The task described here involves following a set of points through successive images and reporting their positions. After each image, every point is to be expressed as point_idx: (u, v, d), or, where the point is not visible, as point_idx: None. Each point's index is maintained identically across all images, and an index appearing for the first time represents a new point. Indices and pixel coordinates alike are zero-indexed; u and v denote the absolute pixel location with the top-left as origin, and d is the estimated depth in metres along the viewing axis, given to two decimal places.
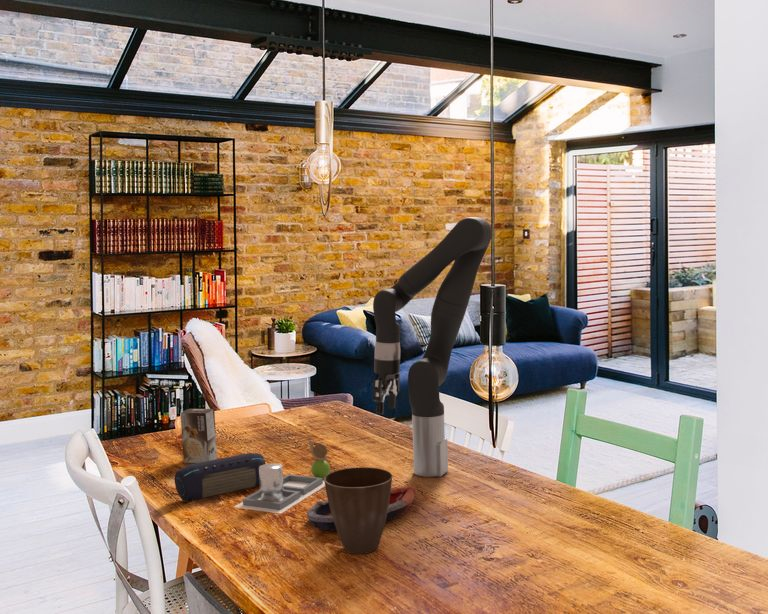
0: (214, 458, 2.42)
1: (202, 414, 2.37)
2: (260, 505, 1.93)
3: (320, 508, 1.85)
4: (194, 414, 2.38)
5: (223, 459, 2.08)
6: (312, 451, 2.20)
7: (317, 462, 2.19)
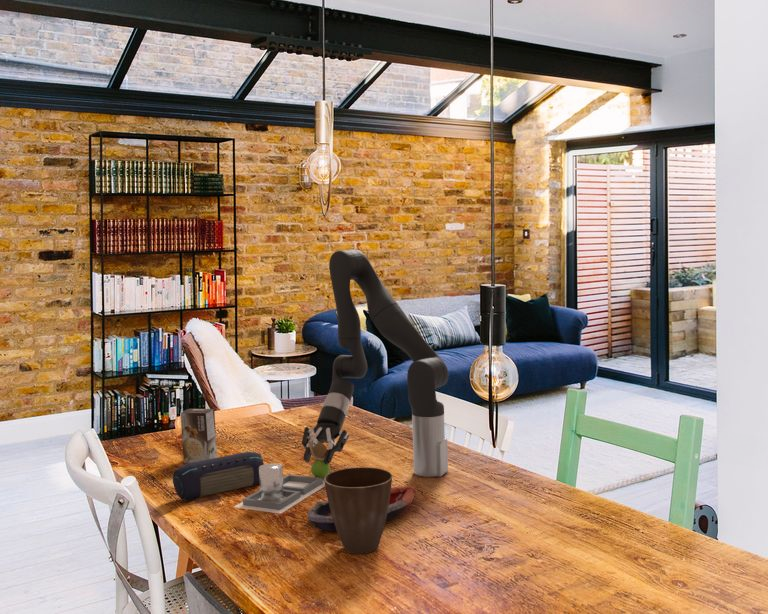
0: None
1: (202, 414, 2.37)
2: (260, 505, 1.93)
3: (320, 509, 1.85)
4: (194, 414, 2.38)
5: (221, 458, 2.09)
6: (312, 451, 2.20)
7: (317, 462, 2.19)
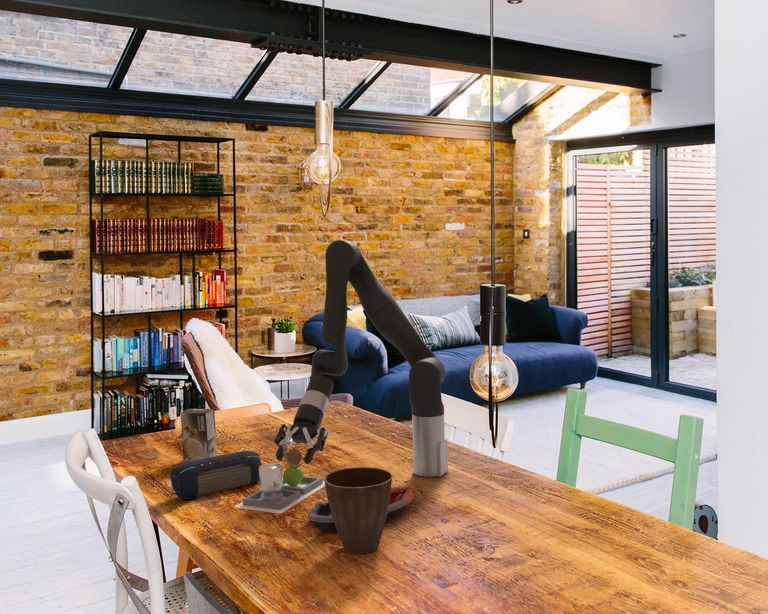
0: None
1: (202, 414, 2.37)
2: (260, 505, 1.93)
3: (321, 509, 1.85)
4: (194, 414, 2.38)
5: (218, 457, 2.10)
6: (285, 456, 2.09)
7: (290, 468, 2.08)
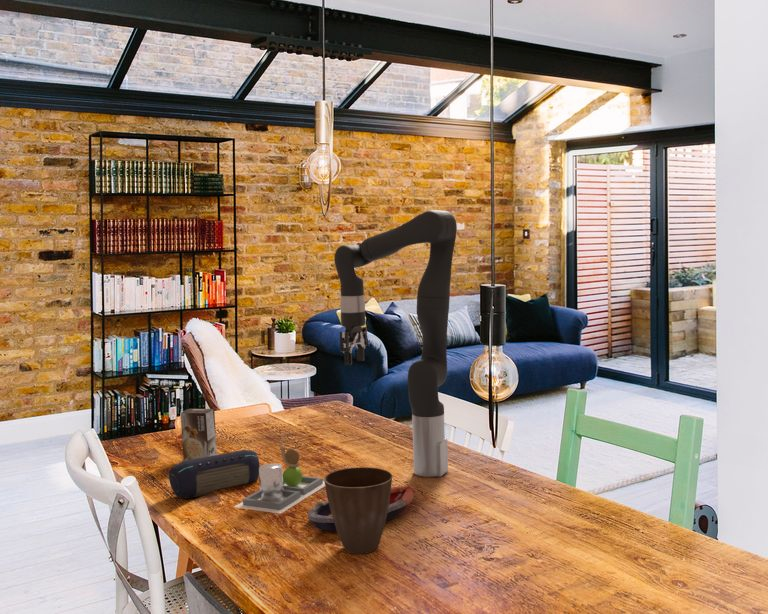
0: None
1: (202, 414, 2.37)
2: (260, 505, 1.93)
3: (321, 509, 1.85)
4: (194, 414, 2.38)
5: (217, 456, 2.11)
6: (284, 457, 2.09)
7: (289, 469, 2.08)
